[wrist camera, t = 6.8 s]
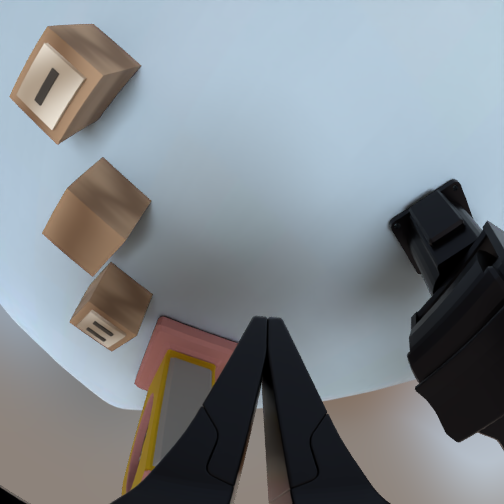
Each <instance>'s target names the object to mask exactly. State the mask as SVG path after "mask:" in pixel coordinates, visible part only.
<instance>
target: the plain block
mask: <svg viewBox="0 0 504 504" xmlns="http://www.w3.org/2000/svg"><path fill="white" fill-rule="evenodd" d="M150 203H151V200H150V199H149V198H148V197H146V196H145V195H144V194H143V193H142V192H141V191H140V190H139V189H138V188H136V187H135V186H134V185H133V184H132V183H131V182H130V181H129V180H128V179H126V178H125V177H124V176H123V175H122V174H121V173H120V172H119V171H118V170H117V169H115V168H114V167H113V166H112V165H111V164H110V163H109V162H108V161H107V160H106V159H105V158H103V157H102V158H101V159H100V160H99V161H98V162H96V163H95V164H94V165H93V166H92V167H90V168H89V169H88V170H87V171H86V172H85V173H83V174H82V175H81V176H80V177H79V178H78V179H77V180H75V181H74V182H73V183H72V184H71V185H70V186H69V187H68V188H67V189H66V191H65V192H64V194H63V196H62V197H61V199H60V201H59V203H58V204H57V206H56V208H55V210H54V212H53V213H52V215H51V217H50V219H49V221H48V223H47V225H46V226H45V228H44V230H43V232H42V234H43V235H44V236H45V237H47V238H48V239H49V240H50V241H51V242H52V243H53V244H54V245H56V246H57V247H58V248H59V249H60V250H61V251H62V252H64V253H65V254H66V255H67V256H68V257H69V258H71V259H72V260H73V261H74V262H75V263H77V264H78V265H79V266H80V267H81V268H83V269H84V270H85V271H86V272H88V273H89V274H90V275H91V276H94V275H95V274H96V273H97V272H98V270H99V269H100V268H101V267H102V266H103V265H104V264H105V263H106V261H107V260H108V259H109V258H110V257H111V256H112V255H113V254H114V253H115V252H116V251H117V249H118V248H119V247H120V246H121V245H122V244H123V243H124V242H125V241H126V240H127V238H128V236H129V235H130V233H131V232H132V230H133V228H134V227H135V225H136V224H137V222H138V221H139V219H140V218H141V216H142V215H143V213H144V212H145V210H146V209H147V207H148V206H149V204H150Z"/></svg>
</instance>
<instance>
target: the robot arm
mask: <svg viewBox="0 0 504 504" xmlns="http://www.w3.org/2000/svg"><path fill="white" fill-rule="evenodd" d="M454 185H456V186H455V188H453V186H454ZM397 223H398V225H397V226H394V225H395V224H397ZM389 225H390V228H391V229H392V231H393V233H394V234H395V236H396V238H397V239H398V241H399V242H400V244H401V246H402V247H403V249H404V251H405V252H406V254H407V256H408V258H409V259H410V261H411V263H412V264H413V266H414V268H415V270H416V272H417V273H418V274H422V276H423V278H424V280H425V283H426V285H427V287H428V289H429V291H430V294H431V296H432V297H431V298H430V299H429V300H428V301H427V302H426V304H425V305H424V306H423V307H422V308H421V309H420V310H419V311H418V312H416V313H415V314H414V315H413V316H412V317H411V333H410V336H409V343H410V352H409V353H408V354H407V358H408V361H409V364H410V367H411V370H412V372H413V374H414V376H415V378H416V379H417V381H418V382H419V384H418V385H417V386H416V387H415V390H416V391H417V392H418V393H419V394H420V395H421V396H423V397H424V398H425V399H426V400H427V401H428V402H429V404H430V405H431V406H432V408H433V409H434V410H435V412H436V414H437V415H438V418H439V420H440V422H441V424H442V426H443V428H444V430H445V432H446V434H447V435H448V436H450V437H451V438H452V439H454V440H455V441H456V442H461V441H463V440H465V439H467V438H468V437H470V436H472V435H474V434H475V433H480V434H483V435H485V436H488V437H491V438H493V439H495V440H497V441H498V442H499V444H500V445H501V447H502V449H503V450H504V231H502V230H501V229H500V228H498V227H497V226H495V225H494V224H492V223H491V222H489V221H487V222H486V223H485V225H484V226H483V230H481V228H480V227H479V226H478V225H477V223H476V222H475V221H474V220H473V217H472V215H471V212H470V209H469V206H468V203H467V200H466V198H465V195H464V192H463V190H462V187H461V185H460V183H459V182H458V181H457V180H455V179H453V180H451V181H449V182H448V183H446V184H445V185H443V186H442V187H440V188H439V189H437V190H436V191H434V192H432V193H431V194H429V195H428V196H426V197H425V198H423V199H422V200H420V201H419V202H417V203H416V204H414V205H413V206H411V207H410V208H409V209H407V210H405V211H404V212H402V213H401V214H399V215H398V216H396V217H395V218H393V219H392V220H391V221H390V224H389ZM261 383H262V398H263V413H264V431H265V447H266V463H267V479H268V480H267V481H268V498H269V504H390V503H389V502H388V501H386V500H385V499H384V498H383V497H382V496H381V495H379V494H378V492H377V491H376V490H375V489H374V488H373V486H372V485H371V483H370V482H369V481H368V479H367V478H366V476H365V475H364V473H363V472H362V470H361V469H360V467H359V466H358V465H357V463H356V461H355V460H354V459H353V457H352V456H351V454H350V452H349V451H348V449H347V448H346V446H345V444H344V443H343V441H342V440H341V438H340V436H339V434H338V432H337V430H336V428H335V426H334V425H333V423H332V420H331V418H330V416H329V414H326V413H327V410H326V409H325V406H324V404H323V402H322V400H321V398H320V396H319V394H318V392H317V390H316V388H315V385H314V383H313V381H312V379H311V377H310V375H309V373H308V371H307V369H306V367H305V365H304V363H303V361H302V359H301V356H300V354H299V352H298V350H297V348H296V346H295V344H294V342H293V340H292V338H291V336H290V334H289V332H288V330H287V327H286V325H285V323H284V321H283V320H282V318H277V317H269V318H268V319H267V317H263V316H254V317H253V318H252V320H251V321H250V323H249V325H248V327H247V329H246V330H245V332H244V334H243V336H242V337H241V339H240V341H239V343H238V344H237V346H236V348H235V349H234V351H233V353H232V355H231V356H230V358H229V360H228V362H227V363H226V365H225V367H224V368H223V370H222V372H221V373H220V375H219V377H218V379H217V380H216V382H215V384H214V385H213V387H212V389H211V390H210V392H209V394H208V395H207V397H206V399H205V400H204V402H203V404H202V406H201V407H200V408H199V410H198V412H197V413H196V415H195V417H194V418H193V420H192V421H191V423H190V424H189V426H188V427H187V429H186V430H185V432H184V433H183V434H182V435H181V437H180V438H179V439H178V441H177V442H176V443H175V444H174V446H173V447H172V448H171V449H170V450H169V451H168V453H167V454H166V455H165V456H164V457H163V458H162V460H161V461H160V462H159V463H158V464H157V465H156V466H155V468H154V469H153V470H152V471H151V472H150V473H149V474H148V475H147V476H146V477H145V478H144V479H143V480H142V481H141V482H140V483H139V484H138V485H137V486H135V487H134V488H133V489H132V490H130V491H129V492H127V493H126V494H124V495H122V496H121V497H119V498H118V499H116V500H115V501H113V502H112V503H110V504H234V500H235V496H236V493H237V489H238V485H239V481H240V476H241V472H242V468H243V464H244V460H245V455H246V451H247V447H248V443H249V439H250V434H251V430H252V425H253V421H254V417H255V412H256V408H257V403H258V398H259V394H260V389H261ZM0 504H30V503H28V502H27V501H25V500H23V499H22V498H20V497H18V496H16V495H15V494H13V493H12V492H10V491H9V490H7V489H5V488H4V487H2V486H1V485H0Z"/></svg>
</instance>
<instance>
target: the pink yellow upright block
mask: <svg viewBox="0 0 504 504" xmlns="http://www.w3.org/2000/svg"><path fill="white" fill-rule="evenodd" d="M237 344H238V343H236V342H233V341H230V340H227V339H224V338H221V337H218V336H216V335H213V334H210V333H207V332H204V331H202V330H199V329H196V328H193V327H191V326H188V325H185V324H183V323H180V322H177V321H175V320H172V319H169V318H167V317H164V316H162V317H160V318H158V321H157V323H156V326H155V329H154V331H153V334H152V336H151V339H150V342H149V344H148V347H147V349H146V352H145V355H144V358H143V360H142V363H141V366H140V368H139V371H138V374H137V377H136V380H135V383H134V384H135V385H136V386H137V387H139V388H141V389H144V390H146V391H148V393H147V396H146V400H145V403H144V406H143V410H142V414H141V417H140V420H139V424H138V427H137V431H136V435H135V438H134V442H133V446H132V450H131V453H130V457H129V461H128V465H127V469H126V473H125V477H124V481H123V487H122V495H124V494H126V493H127V492H129V491H130V490H132V489H133V488H134V487H135V486H137V485H138V484H139V483H140V482H141V481H142V480H143V479H144V478H145V477H146V476H147V475H148V474H149V473H150V472H151V471H152V470H153V469H154V468H155V466H156V465H157V464H158V463H159V462H160V461H161V460H162V458H163V457H164V456H165V455H166V454H167V453H168V451H169V450H170V449H171V448H172V447H173V446H174V444H175V443H176V442H177V441H178V439H179V438H180V437H181V435H182V434H183V433H184V432H185V430H186V429H187V427H188V426H189V424H190V423H191V421H192V420H193V418H194V417H195V415H196V413H197V412H198V410H199V408H200V407H201V406H202V404H203V402H204V400H205V399H206V397H207V395H208V394H209V392H210V390H211V389H212V387H213V385H214V384H215V382H216V380H217V379H218V377H219V375H220V373H221V372H222V370H223V368H224V367H225V365H226V363H227V362H228V360H229V358H230V356H231V355H232V353H233V351H234V349H235V348H236V346H237Z"/></svg>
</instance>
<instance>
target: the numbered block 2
mask: <svg viewBox="0 0 504 504" xmlns="http://www.w3.org/2000/svg"><path fill="white" fill-rule="evenodd" d="M152 295H153V294H152V293H150V292H149V291H148V290H146V289H145V288H144V287H142V286H141V285H140V284H139V283H137V282H136V281H135V280H133V279H132V278H131V277H130V276H128V275H127V274H126V273H124V272H123V271H122V270H121V269H119V268H118V267H117V266H116V265H114V264H113V263H112V262H110V263H109V265H108V266H107V267H106V268H105V269H104V270H103V271H102V272H101V273H100V274H99V275H98V277H97V278H96V279H95V280H94V281H93V282H92V283H91V284H90V286H89V287H88V289H87V291H86V292H85V294H84V296H83V298H82V300H81V301H80V303H79V305H78V307H77V309H76V310H75V312H74V314H73V316H72V318H71V320H70V323H71V324H73V325H74V326H75V327H77V328H78V329H80V330H81V331H82V332H84V333H85V334H87V335H88V336H90V337H91V338H92V339H94V340H95V341H97V342H98V343H100V344H101V345H103V346H104V347H106V348H107V349H109V350H110V351H113V350H115V349H117V348H118V347H120V346H121V345H123V344H125V343H126V342H128V341H129V340H131V339H132V338H134V337H136V336H137V334H138V331H139V329H140V326H141V323H142V321H143V318H144V315H145V313H146V310H147V308H148V305H149V303H150V300H151V297H152Z"/></svg>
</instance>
